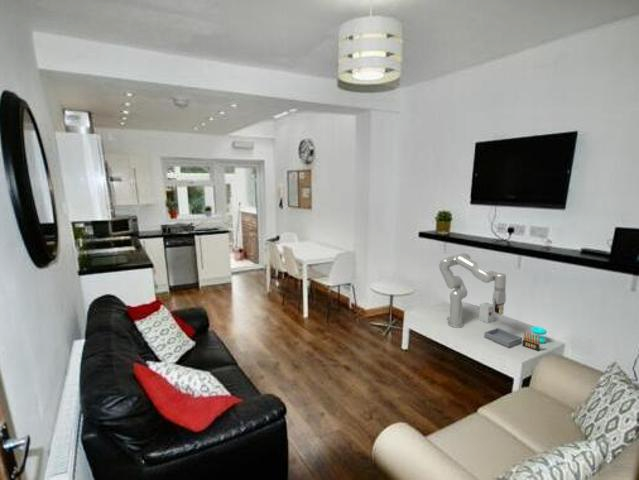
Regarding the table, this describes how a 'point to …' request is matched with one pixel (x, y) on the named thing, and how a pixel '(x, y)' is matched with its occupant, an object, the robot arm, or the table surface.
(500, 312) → the birch block
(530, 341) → the ammunition clip
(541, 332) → the donuts
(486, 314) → the supplement box
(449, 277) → the robot arm
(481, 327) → the table surface
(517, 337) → the tray
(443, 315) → the table surface
